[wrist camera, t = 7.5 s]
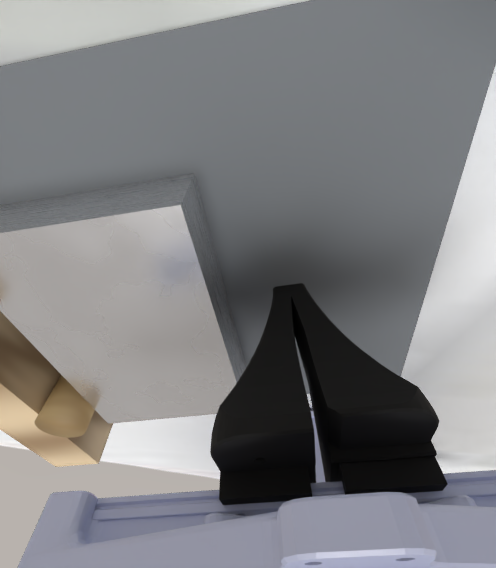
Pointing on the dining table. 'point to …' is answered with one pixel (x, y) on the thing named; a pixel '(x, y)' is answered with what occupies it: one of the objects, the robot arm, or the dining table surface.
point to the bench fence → (45, 405)
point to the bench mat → (278, 145)
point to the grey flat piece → (123, 297)
